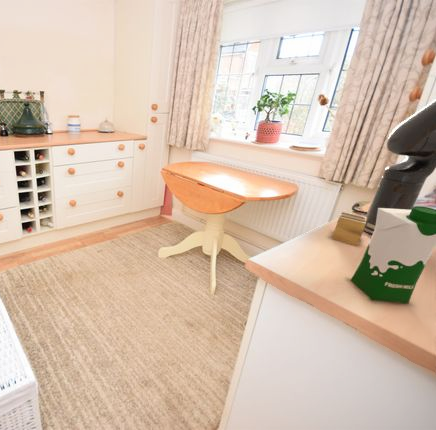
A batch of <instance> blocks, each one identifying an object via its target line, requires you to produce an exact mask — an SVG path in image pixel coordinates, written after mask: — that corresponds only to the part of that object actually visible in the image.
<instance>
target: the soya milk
mask: <svg viewBox="0 0 436 430" xmlns="http://www.w3.org/2000/svg"><path fill="white" fill-rule="evenodd" d="M435 249H436V209H435V208H432V207H427V206H420V205H416V206H415V205H414V206H413V208H412V210H406V209H388V208H378V212H377V219H376V226H375V230H374V232H373V234H371V237H370V240H369V242H368V245H367V247H366V249H365V251H364V254H363V256H362V258H361V261H360V263H359V265H358V267H357V268H356V270H355V272H354V274H353V275H352V277H351V279H350V281H351V282H352V283H353V284H354V285H355V286H356V287H357V288H358V289H359V290H361V292H363V293H364V294H365V295H366V296H367V297H368V298H369V299H370V300H371V301H376V302H387V303H398V304H409V303H410V301H411V299H412V296H413V293H414V291H415V288H416V285H417V283H418V280H419V279H420V277H421V275H422V273H423V271H424V269H425V267H426V266H427V263H428V262H429V260H430V258H431V256H432V254H433V252H434V250H435Z"/></svg>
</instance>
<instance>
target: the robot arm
mask: <svg viewBox="0 0 436 430" xmlns="http://www.w3.org/2000/svg"><path fill="white" fill-rule="evenodd" d="M386 149H387V150H388V151H389V153H391V154H393V155H396V156H402V157H403V156H404V157H406V158H405V159H403V160H402V161H401V162H398V163H395V164H391V165H388V166H387V167H385V169H383V173H382V175H381V177H380V179H379V182H378V185H377V188H376V190H375V193H374V195H373V197H372V200H371V202H370V205H369V208H368V209H367V211H363V210H359V209H356V207H357V208H358V207H360V203H355V204H354V205H352V206H351V211H353V212H356V213H358V214H364V215H365V217H367V218H368V221H367V223H366V226H365V228H364V231H363V232H366V233H368V234H371V235H373V232H374V230H375V226H376V219H377V212H378V208H388V209H406V210H412V208H413V207H414V206H415V205H416V202H417V200H418V197H419V196H420V193H421V190H422V189H423V187H424V184H425V182H426V180H427V179H428V177H430V176H431V175H432V174H433V173H434V172H435V170H436V98H435V99H434V100H432V101H431V102H430V103H428V104H427V105H426V106H424V107H423V108H421V109H420V110H418V111H417V112H415V113H414V114H412V115H411V116H410V117H408V118H407V119H405V120H404V121H402V122H401V123H399V124H398V125H397V126H396V127H395V128H394V129H393V130H392V131H391V132H390V134H389V135H388V138H387V140H386Z"/></svg>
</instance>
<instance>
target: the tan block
mask: <svg viewBox="0 0 436 430" xmlns="http://www.w3.org/2000/svg"><path fill="white" fill-rule="evenodd" d="M367 221H368V218H367V217H366V216H363V215H359V214H354V213H350V212H346V211H342V212H341V213H340V215H339V217H338V220H337V223H336V225H335V228H334V231H333V234H332V237H331V239H332V240H334V241H339V242H342V243H346V244H349V245H352V246H356V247H357V246H359V243H360V240H361V238H362V235H363V233H364V232H365V231H364V228H365V226H366V223H367Z"/></svg>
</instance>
